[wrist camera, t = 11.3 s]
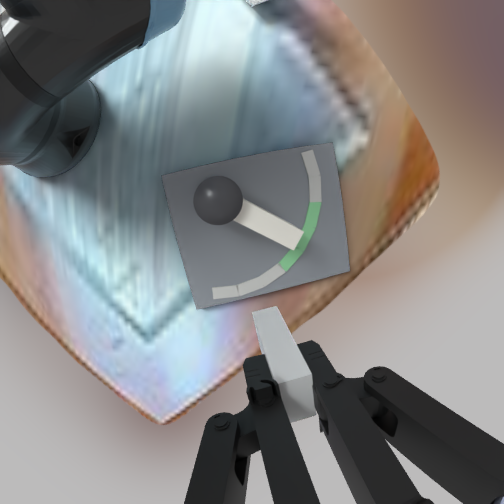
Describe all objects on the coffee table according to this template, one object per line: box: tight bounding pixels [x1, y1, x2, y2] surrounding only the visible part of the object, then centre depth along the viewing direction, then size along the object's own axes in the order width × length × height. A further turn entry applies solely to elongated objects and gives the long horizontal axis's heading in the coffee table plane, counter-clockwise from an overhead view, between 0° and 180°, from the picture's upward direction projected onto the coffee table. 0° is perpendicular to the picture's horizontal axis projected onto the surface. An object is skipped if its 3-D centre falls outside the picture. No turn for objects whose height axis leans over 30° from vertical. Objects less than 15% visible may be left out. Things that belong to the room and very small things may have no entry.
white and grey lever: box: [193, 175, 304, 251], centre depth 33 cm, size 14×5×6 cm, turn 62°
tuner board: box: [161, 143, 350, 310], centre depth 38 cm, size 22×18×2 cm
